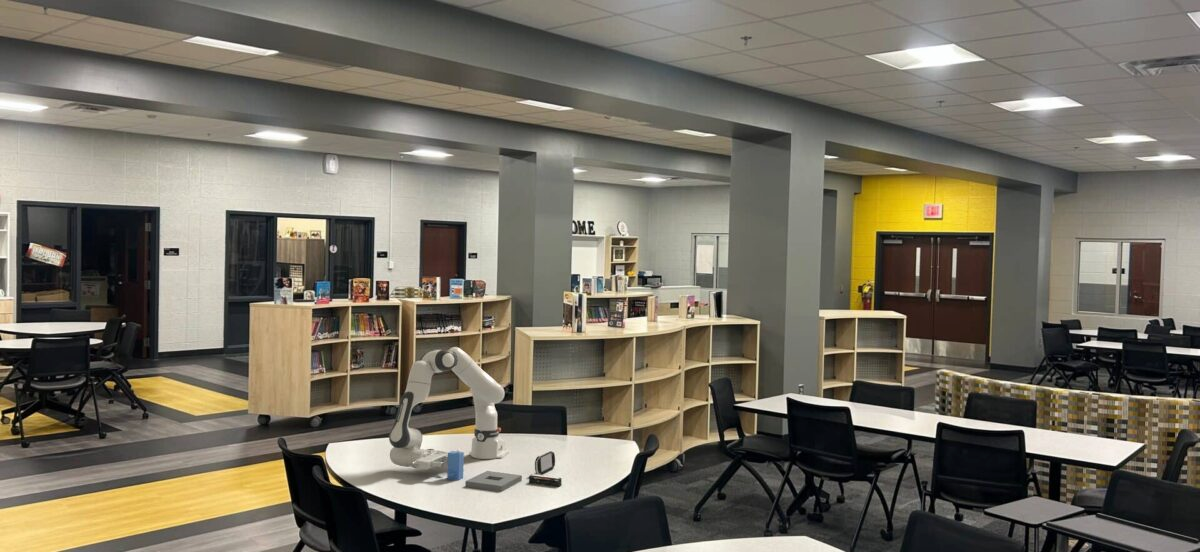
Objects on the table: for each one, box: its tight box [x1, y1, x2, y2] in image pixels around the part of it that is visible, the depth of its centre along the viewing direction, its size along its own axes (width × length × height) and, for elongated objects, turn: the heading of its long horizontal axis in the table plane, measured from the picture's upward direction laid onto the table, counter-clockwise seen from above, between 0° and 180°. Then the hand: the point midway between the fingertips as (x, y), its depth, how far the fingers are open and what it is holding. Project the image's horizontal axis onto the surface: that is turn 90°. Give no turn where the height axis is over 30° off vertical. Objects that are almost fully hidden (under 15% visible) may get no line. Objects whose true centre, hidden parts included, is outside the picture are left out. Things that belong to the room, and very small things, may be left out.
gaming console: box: [534, 450, 556, 475], centre depth 397 cm, size 19×9×2 cm
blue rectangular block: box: [446, 449, 465, 481], centre depth 381 cm, size 10×6×13 cm, turn 160°
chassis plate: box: [465, 470, 523, 493], centre depth 374 cm, size 20×18×2 cm
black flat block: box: [528, 473, 563, 488], centre depth 374 cm, size 14×25×4 cm, turn 70°
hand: (447, 462), depth 382 cm, fingers open, 8 cm apart
